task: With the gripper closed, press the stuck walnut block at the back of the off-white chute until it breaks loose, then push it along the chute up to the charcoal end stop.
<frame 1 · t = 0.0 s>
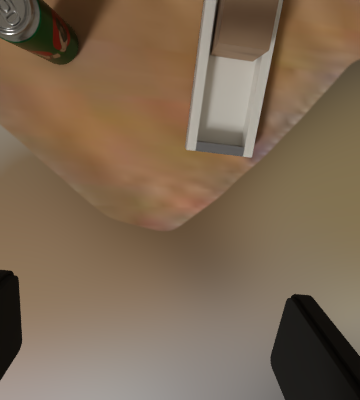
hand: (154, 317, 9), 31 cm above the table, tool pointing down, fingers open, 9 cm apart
walnut block: (241, 24, 31), point 4 cm above the table, slide at 0.0 cm
soda can: (60, 44, 34), on the table
chute: (227, 76, 36), on the table
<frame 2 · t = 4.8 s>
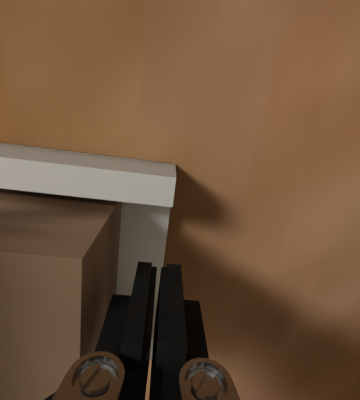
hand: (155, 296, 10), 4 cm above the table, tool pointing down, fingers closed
walnut block: (27, 276, 10), point 4 cm above the table, slide at 0.4 cm, touching gripper
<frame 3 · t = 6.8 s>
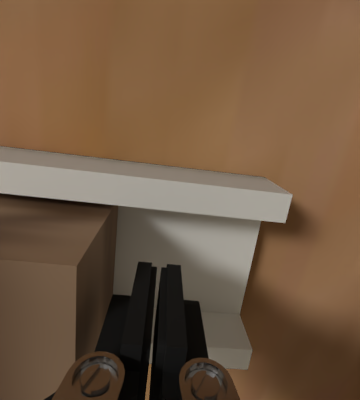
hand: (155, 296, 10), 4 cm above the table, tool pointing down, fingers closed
walnut block: (21, 281, 10), point 4 cm above the table, slide at 5.1 cm, touching gripper
chute: (61, 238, 14), on the table
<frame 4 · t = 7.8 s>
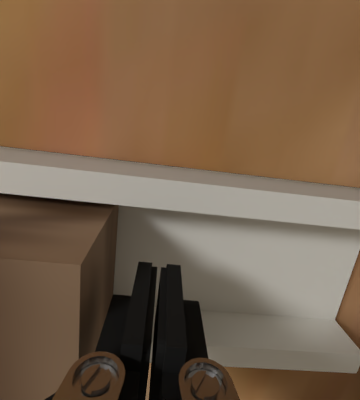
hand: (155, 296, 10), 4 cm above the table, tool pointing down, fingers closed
walnut block: (23, 281, 10), point 4 cm above the table, slide at 10.8 cm, touching gripper
chute: (170, 247, 14), on the table
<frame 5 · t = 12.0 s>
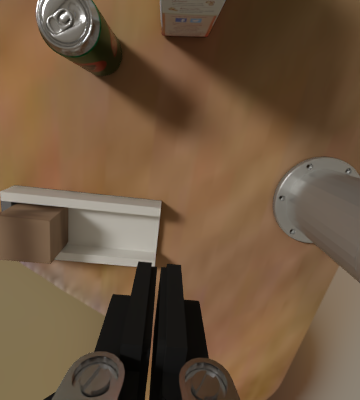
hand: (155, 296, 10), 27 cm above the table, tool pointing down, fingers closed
walnut block: (35, 230, 34), point 4 cm above the table, slide at 10.5 cm
soda can: (102, 54, 32), on the table
chute: (88, 223, 38), on the table
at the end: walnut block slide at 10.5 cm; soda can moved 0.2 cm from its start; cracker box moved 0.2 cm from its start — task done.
